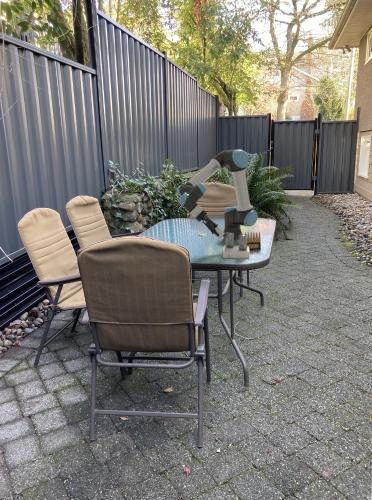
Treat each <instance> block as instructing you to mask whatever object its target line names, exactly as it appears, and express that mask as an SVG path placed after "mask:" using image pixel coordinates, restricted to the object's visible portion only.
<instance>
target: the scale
mask: <svg viewBox="0 0 372 500" xmlns="http://www.w3.org/2000/svg"><path fill="white" fill-rule="evenodd" d="M250 253H251V251H250V250H249V246H247V250H246V251H240V250H239V245H234V247H233V248H226V245H223V249H222V258H223V259H224V258H225V259H226V258H227V259H230V258H231V259H237V258H238V259H241V258H244V259H245V258H246V259H250V258H249V257H251V256H250Z"/></svg>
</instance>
